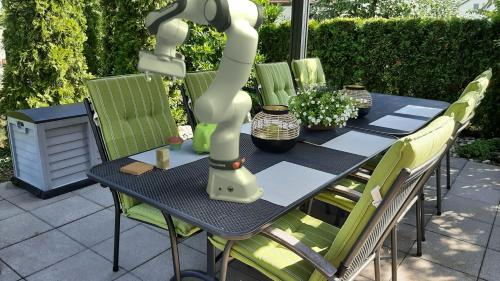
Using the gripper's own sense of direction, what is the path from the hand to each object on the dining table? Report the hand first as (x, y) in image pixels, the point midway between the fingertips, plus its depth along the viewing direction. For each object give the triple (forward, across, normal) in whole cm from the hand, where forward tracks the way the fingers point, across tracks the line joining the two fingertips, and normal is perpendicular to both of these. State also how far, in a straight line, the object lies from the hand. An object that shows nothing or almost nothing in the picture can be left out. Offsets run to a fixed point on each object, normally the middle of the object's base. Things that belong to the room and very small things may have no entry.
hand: (159, 84), depth 161 cm
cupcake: (+21, +16, +40) cm, 48 cm away
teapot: (+19, +35, +33) cm, 52 cm away
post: (+34, +8, +15) cm, 38 cm away
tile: (+37, -2, +16) cm, 40 cm away
